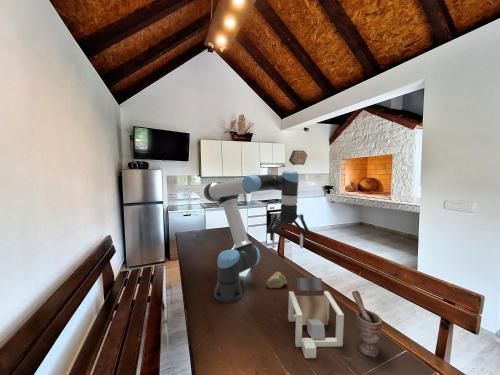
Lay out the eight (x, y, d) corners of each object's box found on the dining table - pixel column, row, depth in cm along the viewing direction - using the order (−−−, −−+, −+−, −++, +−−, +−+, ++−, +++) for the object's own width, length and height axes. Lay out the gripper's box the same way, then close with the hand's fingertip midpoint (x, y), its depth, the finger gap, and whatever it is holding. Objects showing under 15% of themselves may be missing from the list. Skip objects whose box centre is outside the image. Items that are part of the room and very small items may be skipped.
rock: (272, 295, 125) (265, 283, 122) (268, 285, 133) (262, 273, 130) (290, 286, 126) (284, 274, 122) (285, 276, 134) (279, 264, 130)
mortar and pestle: (343, 343, 85) (345, 295, 83) (352, 332, 91) (354, 287, 89) (375, 362, 77) (378, 309, 75) (383, 349, 83) (386, 299, 81)
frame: (296, 346, 83) (297, 315, 82) (288, 318, 99) (288, 291, 98) (342, 346, 84) (344, 314, 83) (327, 318, 100) (328, 291, 98)
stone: (306, 319, 92) (311, 324, 85) (318, 319, 92) (324, 324, 85) (307, 332, 91) (312, 339, 84) (319, 332, 91) (325, 339, 84)
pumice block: (305, 358, 78) (305, 348, 78) (302, 349, 82) (302, 339, 82) (316, 358, 78) (316, 348, 78) (312, 349, 82) (312, 339, 82)
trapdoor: (297, 324, 92) (299, 326, 88) (293, 278, 99) (295, 278, 96) (327, 324, 92) (330, 326, 89) (321, 278, 100) (324, 278, 96)
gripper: (263, 204, 98) (261, 249, 101) (317, 206, 99) (315, 250, 101) (262, 201, 106) (261, 243, 108) (312, 203, 106) (310, 244, 108)
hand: (287, 247), depth 104 cm, fingers open, 13 cm apart
